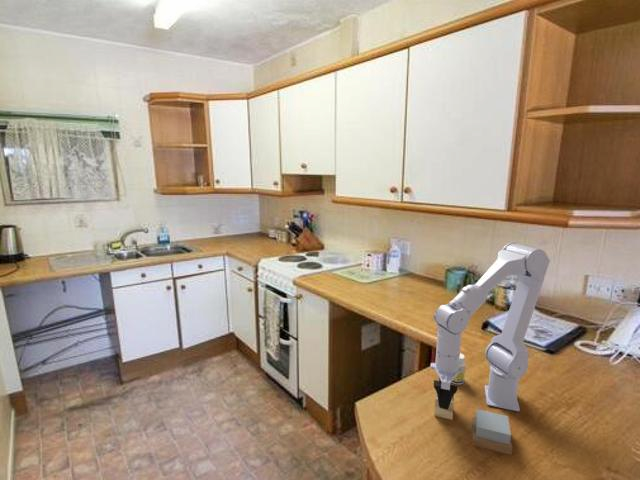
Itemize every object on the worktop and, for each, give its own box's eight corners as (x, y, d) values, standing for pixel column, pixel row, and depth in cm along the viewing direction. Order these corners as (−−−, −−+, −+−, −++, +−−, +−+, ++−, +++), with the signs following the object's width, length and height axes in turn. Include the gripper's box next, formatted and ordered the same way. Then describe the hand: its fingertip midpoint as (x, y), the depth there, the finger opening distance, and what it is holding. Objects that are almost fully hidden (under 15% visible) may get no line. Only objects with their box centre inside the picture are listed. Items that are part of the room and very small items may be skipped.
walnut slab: (471, 425, 92) (472, 416, 92) (506, 433, 89) (507, 424, 89) (473, 447, 85) (473, 438, 84) (511, 456, 82) (512, 447, 82)
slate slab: (475, 417, 91) (476, 409, 91) (506, 425, 89) (507, 416, 88) (476, 436, 85) (477, 427, 84) (509, 444, 82) (510, 435, 82)
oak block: (435, 405, 99) (436, 389, 98) (452, 409, 98) (453, 392, 97) (434, 416, 95) (435, 398, 94) (452, 420, 93) (453, 402, 92)
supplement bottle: (450, 374, 114) (452, 349, 113) (466, 379, 111) (468, 354, 110) (445, 381, 111) (447, 355, 109) (461, 387, 108) (463, 361, 106)
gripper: (433, 337, 101) (430, 381, 104) (429, 362, 88) (426, 412, 90) (460, 341, 99) (456, 386, 101) (460, 367, 85) (456, 419, 88)
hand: (444, 399), depth 95 cm, fingers open, 7 cm apart
